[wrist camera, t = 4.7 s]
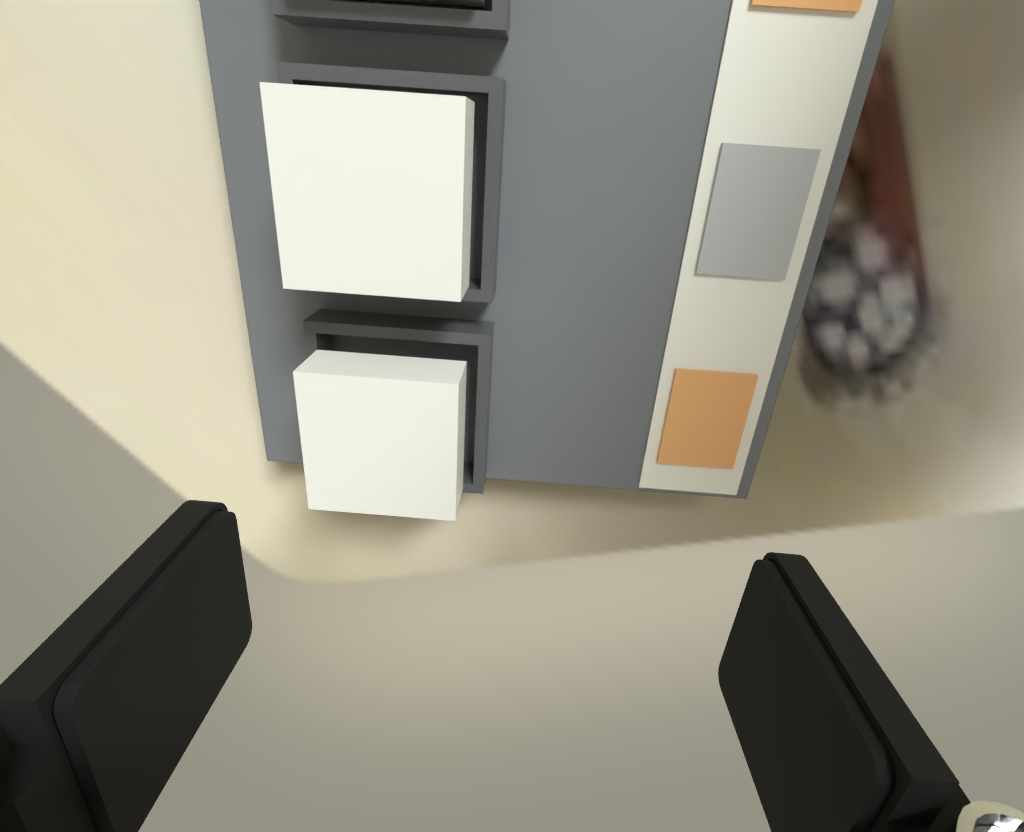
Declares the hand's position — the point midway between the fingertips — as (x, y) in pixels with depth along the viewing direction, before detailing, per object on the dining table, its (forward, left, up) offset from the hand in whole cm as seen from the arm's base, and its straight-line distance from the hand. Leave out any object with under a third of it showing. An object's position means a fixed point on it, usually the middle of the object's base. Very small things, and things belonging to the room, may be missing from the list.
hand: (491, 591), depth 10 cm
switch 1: (+4, -6, -10) cm, 12 cm away
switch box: (0, -6, -15) cm, 16 cm away
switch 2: (+4, +2, -10) cm, 11 cm away
